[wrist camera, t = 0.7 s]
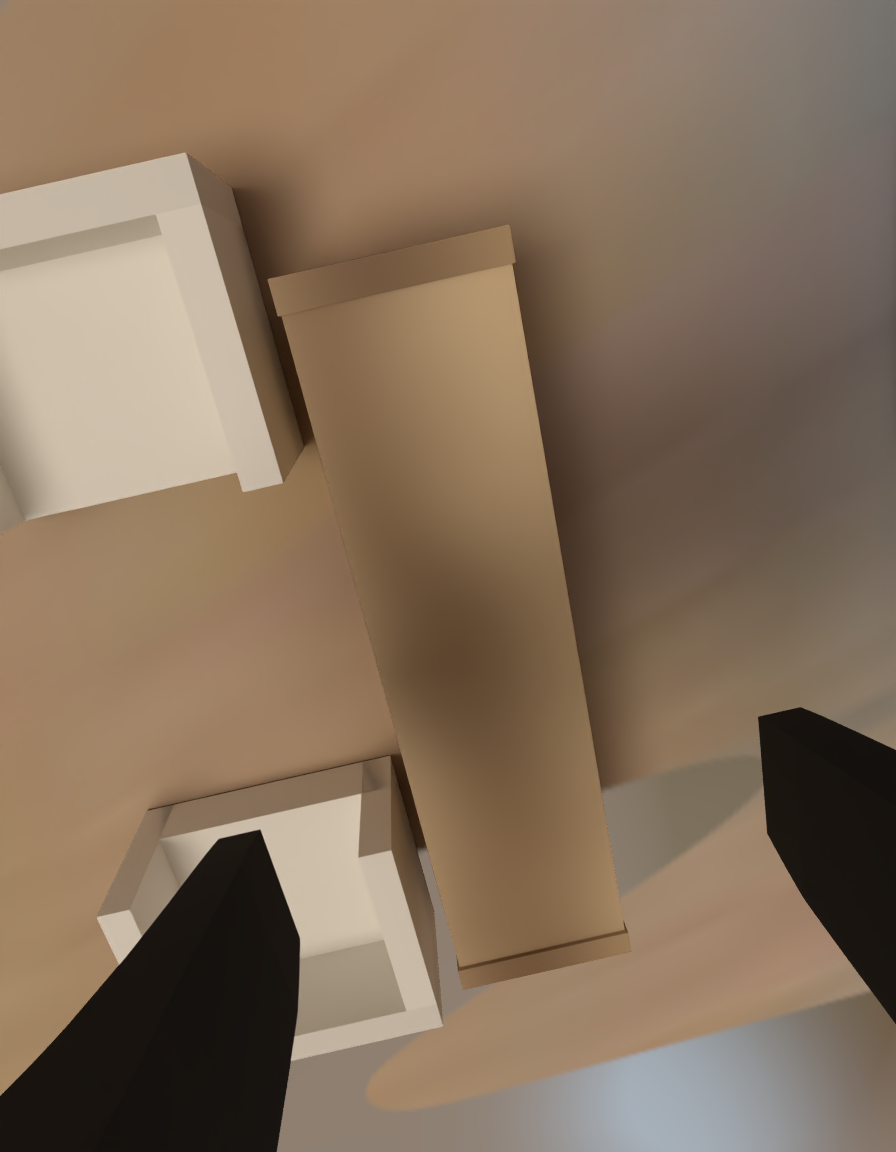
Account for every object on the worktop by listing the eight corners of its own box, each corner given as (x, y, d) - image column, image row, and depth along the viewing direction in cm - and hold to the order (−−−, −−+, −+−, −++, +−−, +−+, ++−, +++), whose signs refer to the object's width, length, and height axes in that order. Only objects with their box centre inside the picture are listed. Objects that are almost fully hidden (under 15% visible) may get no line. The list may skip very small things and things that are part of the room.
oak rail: (475, 246, 17) (509, 224, 13) (579, 816, 23) (631, 951, 18) (300, 286, 17) (267, 279, 13) (447, 846, 23) (463, 990, 18)
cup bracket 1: (231, 187, 16) (185, 152, 13) (304, 447, 18) (283, 483, 15) (-88, 259, 16) (-227, 245, 13) (19, 511, 18) (-74, 564, 15)
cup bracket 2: (390, 755, 22) (391, 850, 18) (434, 911, 24) (443, 1026, 20) (146, 810, 22) (96, 917, 18) (211, 962, 24) (177, 1086, 20)
